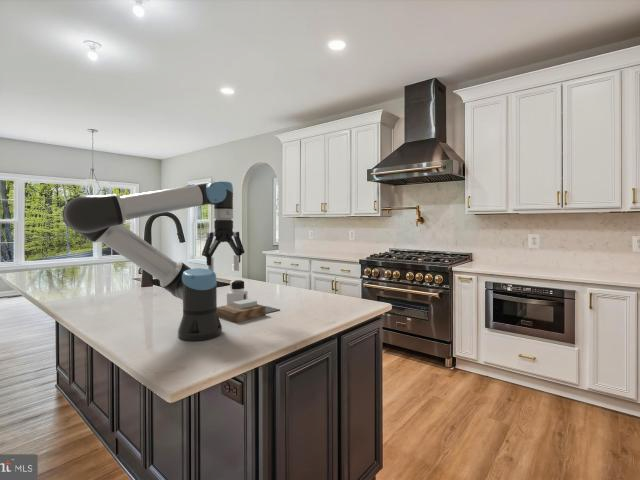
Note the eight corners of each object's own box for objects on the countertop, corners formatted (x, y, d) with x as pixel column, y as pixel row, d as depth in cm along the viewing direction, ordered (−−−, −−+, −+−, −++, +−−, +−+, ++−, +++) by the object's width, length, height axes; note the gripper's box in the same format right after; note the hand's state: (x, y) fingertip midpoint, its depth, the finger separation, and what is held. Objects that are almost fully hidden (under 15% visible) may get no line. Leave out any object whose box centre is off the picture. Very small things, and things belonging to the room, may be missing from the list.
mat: (262, 314, 159) (262, 313, 159) (249, 310, 166) (249, 309, 166) (279, 310, 167) (279, 309, 167) (266, 306, 173) (266, 306, 173)
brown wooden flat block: (234, 322, 146) (234, 313, 146) (215, 316, 156) (215, 307, 156) (265, 315, 158) (265, 306, 158) (246, 309, 168) (246, 301, 167)
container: (247, 306, 175) (247, 279, 174) (242, 310, 167) (242, 282, 167) (232, 305, 176) (232, 279, 175) (226, 309, 168) (226, 281, 167)
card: (239, 308, 153) (239, 304, 153) (231, 306, 157) (231, 302, 157) (257, 305, 159) (257, 300, 159) (249, 303, 164) (249, 298, 163)
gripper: (201, 219, 138) (202, 275, 139) (252, 219, 155) (252, 270, 156) (192, 219, 143) (192, 273, 144) (242, 219, 160) (242, 268, 161)
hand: (224, 271), depth 150 cm, fingers open, 11 cm apart
